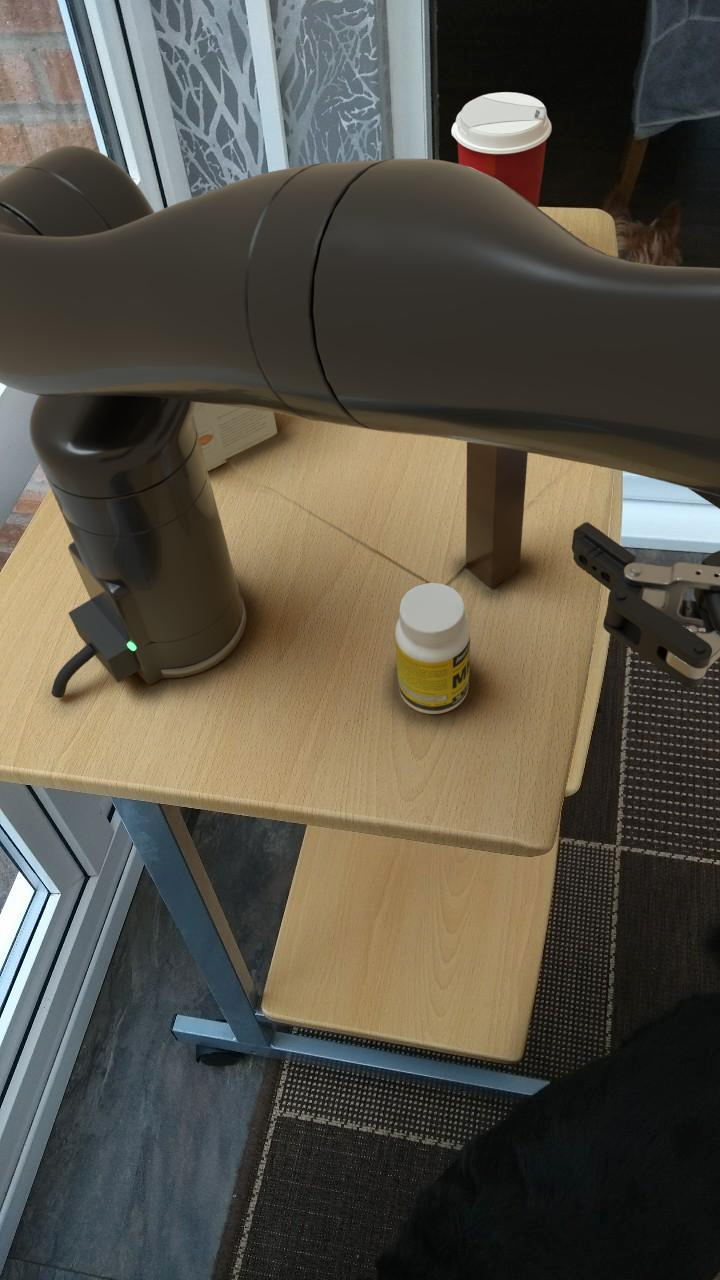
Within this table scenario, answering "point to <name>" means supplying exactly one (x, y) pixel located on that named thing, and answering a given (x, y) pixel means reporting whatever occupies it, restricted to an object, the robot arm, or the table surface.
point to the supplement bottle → (432, 648)
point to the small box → (230, 430)
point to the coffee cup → (505, 140)
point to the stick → (494, 511)
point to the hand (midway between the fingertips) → (630, 498)
